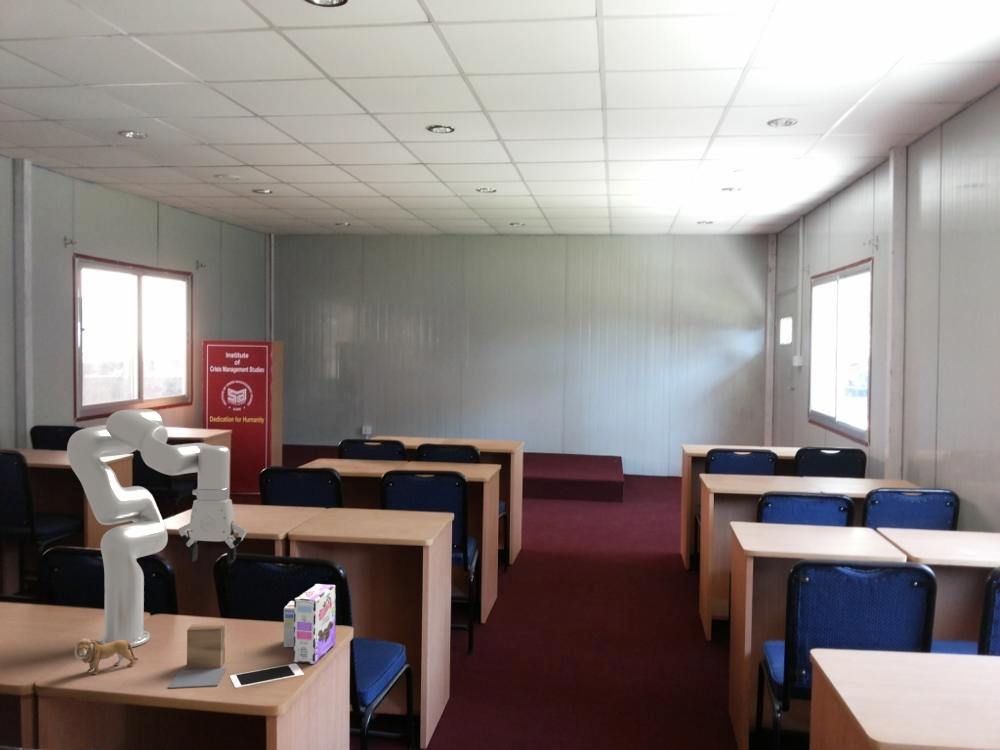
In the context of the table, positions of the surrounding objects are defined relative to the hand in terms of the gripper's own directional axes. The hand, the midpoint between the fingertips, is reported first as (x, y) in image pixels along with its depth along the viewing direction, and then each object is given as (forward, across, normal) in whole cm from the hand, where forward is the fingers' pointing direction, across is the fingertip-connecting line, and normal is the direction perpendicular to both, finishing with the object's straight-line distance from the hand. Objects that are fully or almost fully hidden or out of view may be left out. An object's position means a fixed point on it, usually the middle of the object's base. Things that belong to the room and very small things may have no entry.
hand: (212, 561), depth 189 cm
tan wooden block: (+25, 0, -3) cm, 26 cm away
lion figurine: (+26, -23, -8) cm, 35 cm away
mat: (+25, +2, -11) cm, 27 cm away
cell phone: (+26, +18, -8) cm, 32 cm away
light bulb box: (+25, +20, +14) cm, 35 cm away
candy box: (+25, +25, +6) cm, 36 cm away
